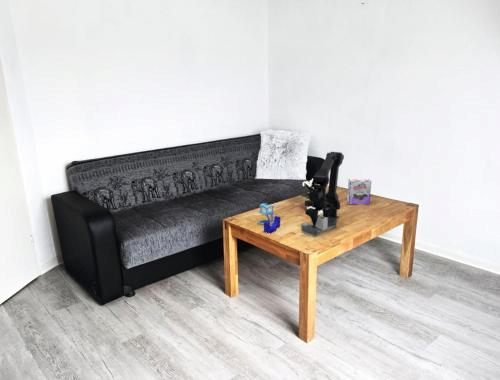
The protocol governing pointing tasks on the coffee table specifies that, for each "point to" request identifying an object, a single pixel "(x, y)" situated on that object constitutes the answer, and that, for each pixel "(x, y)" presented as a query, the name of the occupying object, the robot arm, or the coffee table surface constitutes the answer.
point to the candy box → (359, 191)
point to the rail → (314, 230)
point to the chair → (266, 213)
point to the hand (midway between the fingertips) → (319, 223)
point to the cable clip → (274, 226)
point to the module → (321, 222)
